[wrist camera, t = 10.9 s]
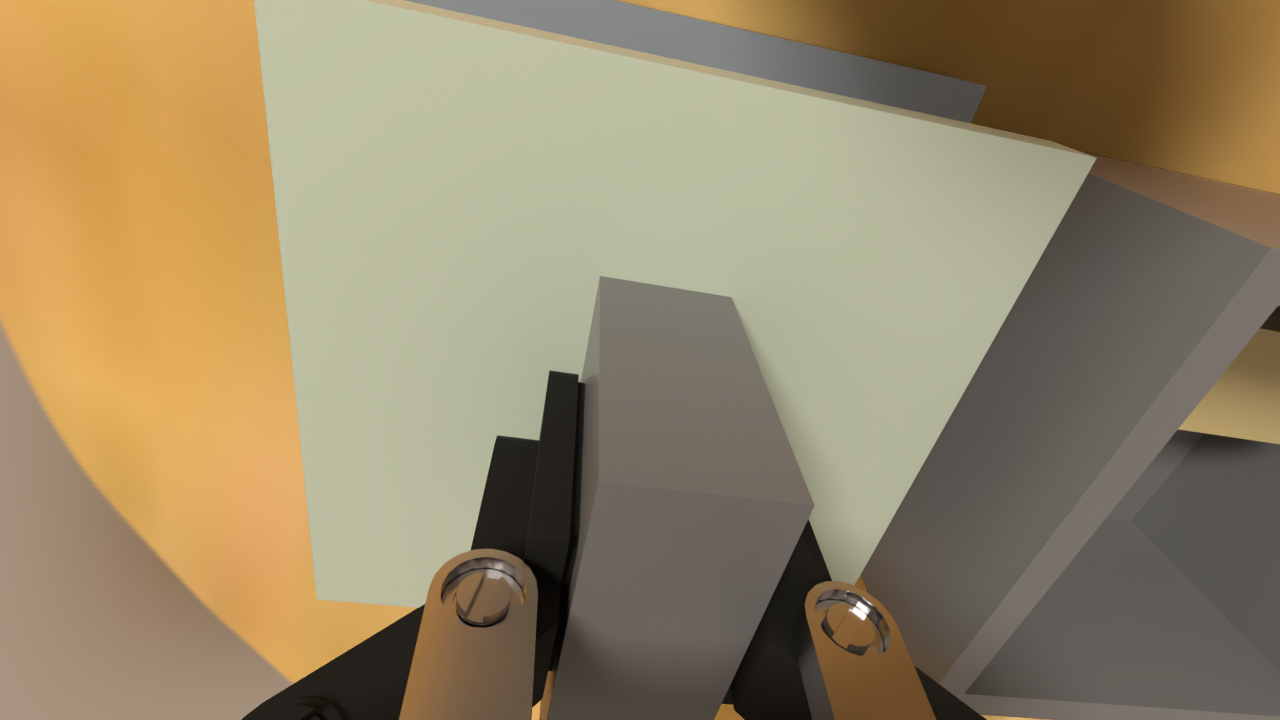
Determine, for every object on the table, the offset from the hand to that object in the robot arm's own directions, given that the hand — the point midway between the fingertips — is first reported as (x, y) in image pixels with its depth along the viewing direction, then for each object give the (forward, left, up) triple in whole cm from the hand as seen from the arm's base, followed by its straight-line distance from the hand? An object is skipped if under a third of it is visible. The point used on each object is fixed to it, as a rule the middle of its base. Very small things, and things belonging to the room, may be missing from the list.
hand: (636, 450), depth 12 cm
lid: (0, 0, -2) cm, 2 cm away
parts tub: (-14, 0, -7) cm, 16 cm away
